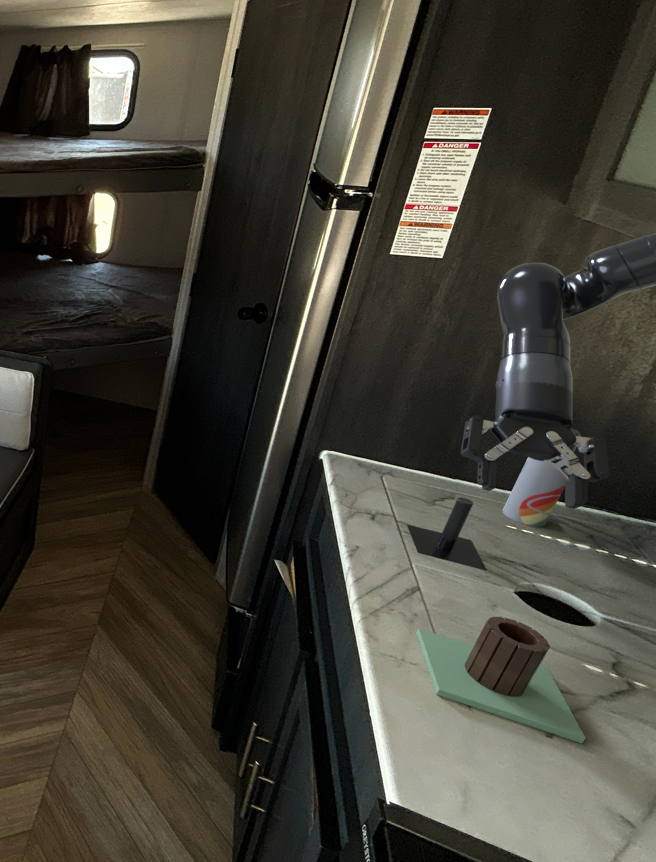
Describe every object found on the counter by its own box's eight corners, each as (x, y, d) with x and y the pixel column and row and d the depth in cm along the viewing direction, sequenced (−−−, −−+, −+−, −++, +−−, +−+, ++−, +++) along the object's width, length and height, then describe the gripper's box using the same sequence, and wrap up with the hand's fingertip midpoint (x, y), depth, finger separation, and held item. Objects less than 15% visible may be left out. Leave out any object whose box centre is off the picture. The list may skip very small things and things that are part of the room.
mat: (544, 672, 87) (547, 667, 87) (582, 743, 77) (586, 738, 77) (415, 633, 93) (418, 628, 93) (436, 694, 84) (438, 689, 83)
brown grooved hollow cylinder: (514, 671, 86) (539, 627, 83) (530, 703, 81) (557, 658, 78) (459, 654, 89) (481, 610, 86) (471, 684, 84) (495, 640, 81)
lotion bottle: (547, 536, 114) (597, 440, 106) (505, 527, 116) (551, 432, 109) (535, 520, 118) (582, 426, 111) (495, 511, 121) (538, 419, 113)
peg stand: (467, 546, 111) (492, 494, 107) (483, 577, 104) (510, 523, 100) (403, 530, 115) (424, 480, 111) (414, 559, 108) (437, 506, 104)
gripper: (480, 371, 91) (475, 476, 86) (620, 391, 84) (623, 507, 80) (457, 390, 97) (450, 490, 92) (586, 411, 91) (586, 519, 86)
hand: (530, 498), depth 86 cm, fingers open, 8 cm apart
